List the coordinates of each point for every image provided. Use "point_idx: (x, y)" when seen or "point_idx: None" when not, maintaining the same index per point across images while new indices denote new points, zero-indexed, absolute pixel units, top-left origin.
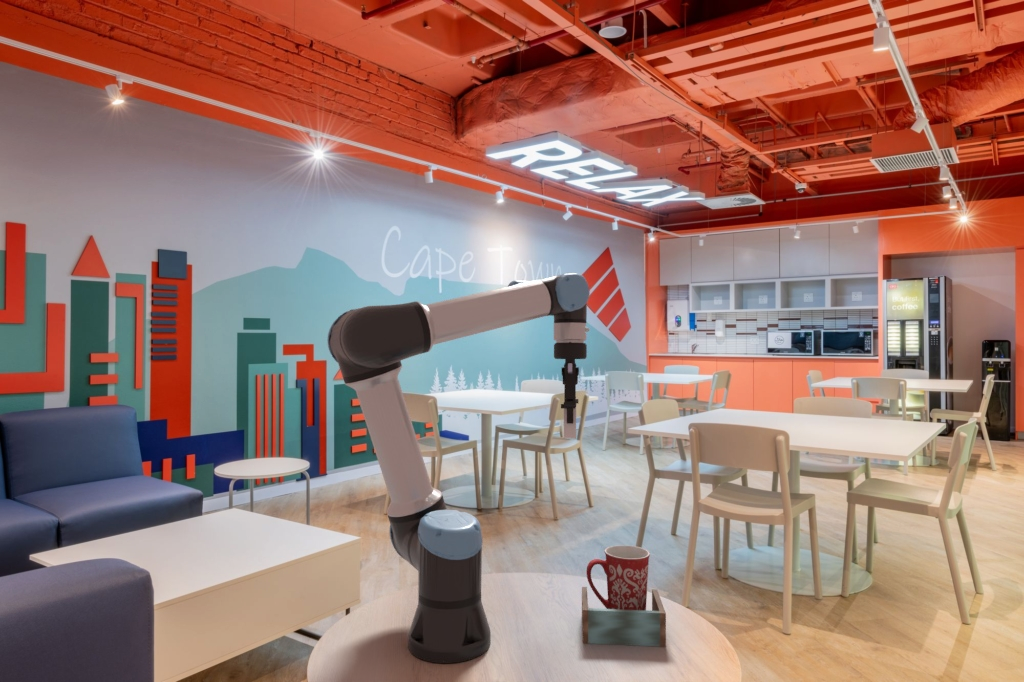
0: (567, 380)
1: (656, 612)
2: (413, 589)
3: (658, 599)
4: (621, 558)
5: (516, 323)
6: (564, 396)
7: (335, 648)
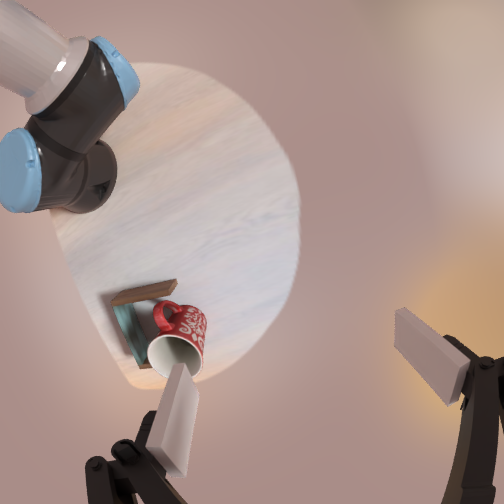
0: None
1: (137, 362)
2: (190, 72)
3: None
4: (147, 354)
5: None
6: (87, 489)
7: None
